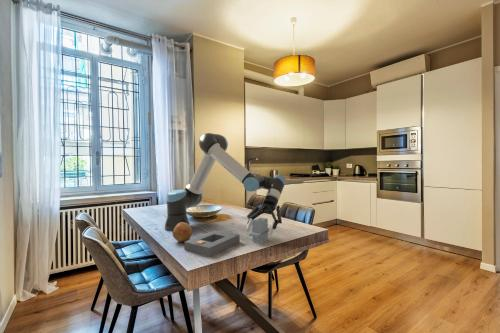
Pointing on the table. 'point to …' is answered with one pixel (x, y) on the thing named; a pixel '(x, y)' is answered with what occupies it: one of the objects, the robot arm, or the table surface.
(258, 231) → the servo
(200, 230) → the table surface
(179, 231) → the onion
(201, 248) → the pocket block
